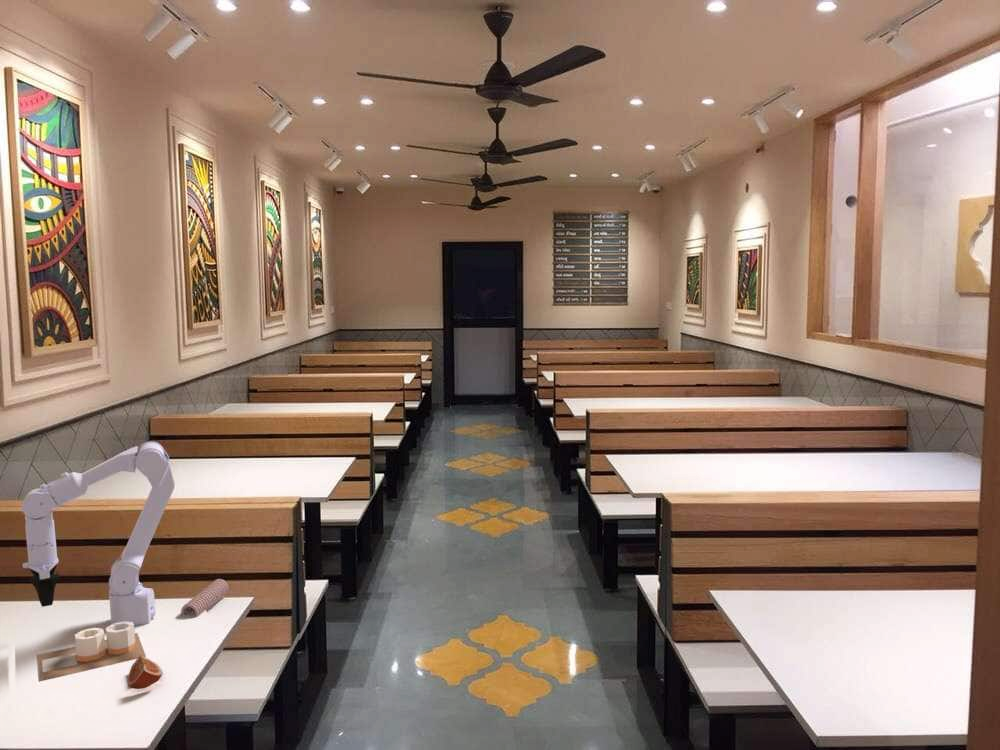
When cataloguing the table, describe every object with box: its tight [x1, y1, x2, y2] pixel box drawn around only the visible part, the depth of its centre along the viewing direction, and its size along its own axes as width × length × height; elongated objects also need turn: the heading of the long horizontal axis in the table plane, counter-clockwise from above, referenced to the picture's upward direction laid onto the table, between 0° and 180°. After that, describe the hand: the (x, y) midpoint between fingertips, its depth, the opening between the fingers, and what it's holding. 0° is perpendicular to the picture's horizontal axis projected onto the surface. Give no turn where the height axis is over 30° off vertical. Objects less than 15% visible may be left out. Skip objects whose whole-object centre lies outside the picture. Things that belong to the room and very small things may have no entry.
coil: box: [180, 578, 229, 618], centre depth 203 cm, size 5×5×18 cm
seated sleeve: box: [105, 621, 136, 655], centre depth 178 cm, size 5×5×5 cm
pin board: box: [36, 632, 147, 682], centre depth 175 cm, size 20×14×5 cm
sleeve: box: [74, 627, 106, 662], centre depth 175 cm, size 5×5×5 cm
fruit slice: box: [126, 655, 164, 690], centre depth 165 cm, size 8×7×5 cm
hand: (46, 599), depth 186 cm, fingers open, 7 cm apart
